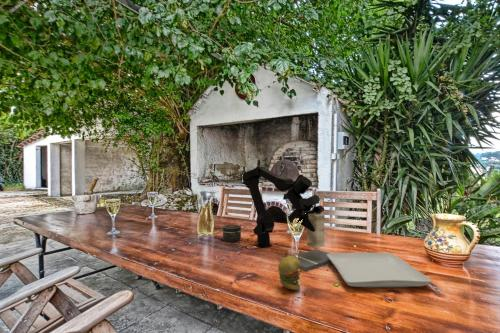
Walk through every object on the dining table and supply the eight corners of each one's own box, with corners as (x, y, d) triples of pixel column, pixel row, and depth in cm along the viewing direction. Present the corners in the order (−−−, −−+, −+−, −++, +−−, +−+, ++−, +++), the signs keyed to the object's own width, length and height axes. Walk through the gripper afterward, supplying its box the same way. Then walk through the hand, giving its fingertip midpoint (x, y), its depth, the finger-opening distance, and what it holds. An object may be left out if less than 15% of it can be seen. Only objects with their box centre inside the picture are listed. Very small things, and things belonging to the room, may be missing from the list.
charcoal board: (283, 261, 115) (283, 257, 115) (316, 252, 126) (316, 248, 126) (306, 271, 104) (305, 267, 104) (340, 260, 115) (339, 256, 115)
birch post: (306, 245, 114) (307, 214, 114) (314, 243, 117) (314, 213, 117) (316, 248, 110) (317, 215, 110) (324, 246, 114) (324, 214, 114)
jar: (244, 240, 148) (244, 226, 148) (228, 244, 142) (228, 229, 142) (235, 236, 156) (234, 223, 156) (219, 239, 150) (219, 226, 150)
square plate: (325, 261, 114) (325, 252, 114) (391, 261, 113) (391, 251, 113) (346, 292, 87) (346, 279, 87) (434, 292, 86) (434, 279, 86)
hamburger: (305, 292, 87) (305, 255, 87) (285, 296, 85) (284, 258, 85) (293, 282, 95) (293, 248, 94) (274, 286, 92) (274, 250, 92)
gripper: (293, 190, 111) (316, 221, 102) (320, 187, 123) (343, 215, 115) (279, 207, 117) (299, 238, 109) (306, 203, 129) (327, 230, 121)
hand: (318, 230), depth 113 cm, fingers closed on birch post, 5 cm apart
